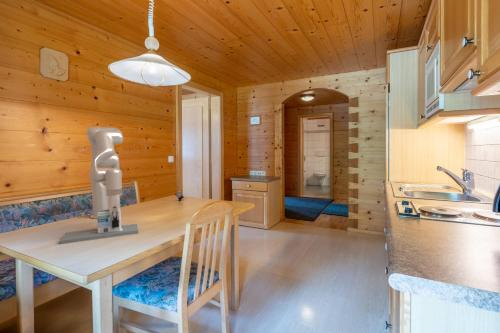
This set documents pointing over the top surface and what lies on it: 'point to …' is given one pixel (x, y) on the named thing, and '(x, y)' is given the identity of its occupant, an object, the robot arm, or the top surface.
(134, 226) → the slate board
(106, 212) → the light bulb box
